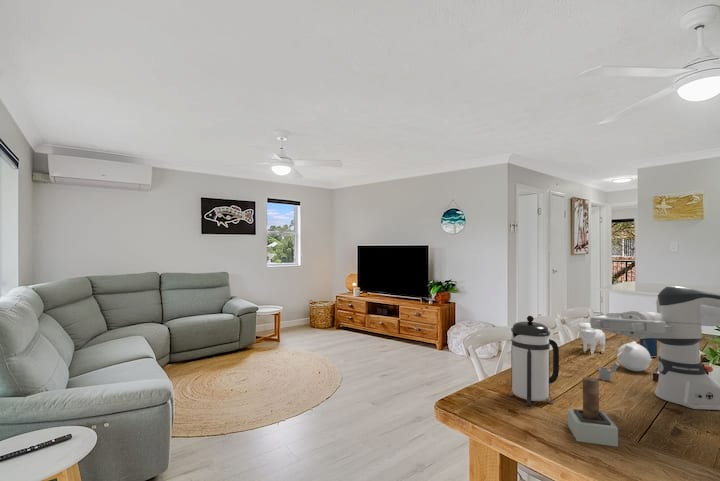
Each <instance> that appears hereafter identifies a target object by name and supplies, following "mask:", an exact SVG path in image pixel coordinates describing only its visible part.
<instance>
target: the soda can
mask: <svg viewBox="0 0 720 481" xmlns="http://www.w3.org/2000/svg"><path fill="white" fill-rule="evenodd" d="M639 345H641V346H643V347H644V348H646V349H647V351H648V352H649V354H650V356H656V357H657V356H658V340H656V339H655V338H643V339H639Z"/></svg>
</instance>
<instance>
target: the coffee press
mask: <svg viewBox="0 0 720 481" xmlns="http://www.w3.org/2000/svg"><path fill="white" fill-rule="evenodd" d="M526 320H527V321H518V322H515V323H514V324H513V326H512V327H511V328H510V330H511V331H510V332H511V349H510V350H511V353H510V354H511V376H510V377H511V378H510V379H511V380H510V381H511V383H510V384H511V386H510V387H511V388H510V389H509V391H507V395H508V397H509V398H511V397H513V396H514V395H515V396H516V397H517V398H520V399H522V400H526V407H530V408H532V401H533V402H542V401H546V402H548V403H549V405H550V404H551V405H552V404H554V398H553V397H552V396H551V393H550V392H551V390H550V384H552V383H555V381H557V379H558V377H559V371H560V351H559V346H558V344H557V342H556V341H555V340H553V339H550V336H551V331H550V330H549V329H548V327H547V326H546V325H545V324H543V323H540V322H535V321H534V320H535V318H534V317H533V316H532V315H528V316H527V317H526ZM550 346H551V347H552V375H551V374H550V370H551V369H550V364H551V363H550V362H551V361H550V358H551V357H550V354H551V353H550V350H551V349H550ZM550 375H551V376H550ZM511 391H512V392H513V393H512V394H510V392H511ZM548 398H550V399H551V401H550V400H549V399H548Z"/></svg>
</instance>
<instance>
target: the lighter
mask: <svg viewBox="0 0 720 481" xmlns="http://www.w3.org/2000/svg"><path fill="white" fill-rule="evenodd" d="M619 366H620V362H618V361H615V362H614V364H613V365H612V367H611V368H610V369H608V367H607V366H601V367H599V368H598V380H599V379H602V380H601V381H605V380H607V381H606V382H611V381H612V380H611V379H612V378H611V377H612V376H611V372H612V373H613V374H614V373H615V372H616V371H617V369H618V368H619Z"/></svg>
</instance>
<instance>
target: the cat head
mask: <svg viewBox="0 0 720 481" xmlns="http://www.w3.org/2000/svg"><path fill="white" fill-rule="evenodd" d="M616 353H617V354H616V359H617V360H616V362H618V363H619V364H620V365H622V367H623V368H625V369H626V370H628V371H631V372H642V371H643V372H644V371H645V370H647V369H648V367H650V365H651V364H652V361H653V358H651V356H650V354H649V352H648V351H647V349H646V348H644V347H643V346H641V345H640V343H637V342H636V341H635V340H634V341H631V342H628V343H623V344H622V345H621V346H619V348H618V349H617V352H616Z"/></svg>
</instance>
